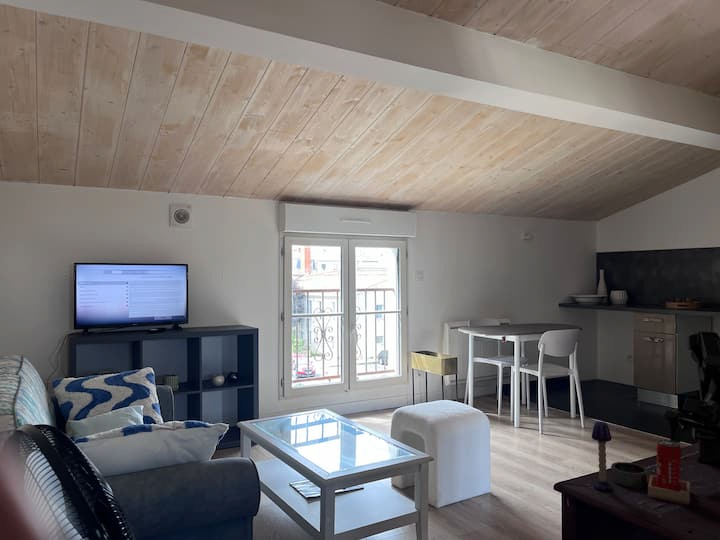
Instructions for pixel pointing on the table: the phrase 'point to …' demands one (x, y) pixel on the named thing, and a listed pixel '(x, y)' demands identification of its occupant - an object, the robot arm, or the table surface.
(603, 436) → the toy lamp
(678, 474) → the beverage can
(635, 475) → the steel collar
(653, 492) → the terracotta tray
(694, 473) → the table surface
